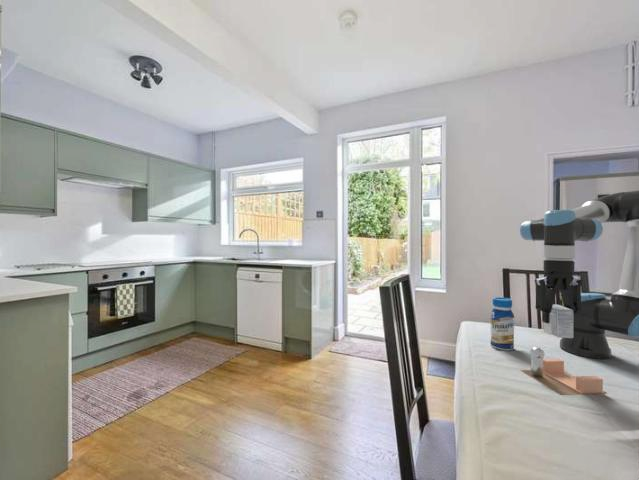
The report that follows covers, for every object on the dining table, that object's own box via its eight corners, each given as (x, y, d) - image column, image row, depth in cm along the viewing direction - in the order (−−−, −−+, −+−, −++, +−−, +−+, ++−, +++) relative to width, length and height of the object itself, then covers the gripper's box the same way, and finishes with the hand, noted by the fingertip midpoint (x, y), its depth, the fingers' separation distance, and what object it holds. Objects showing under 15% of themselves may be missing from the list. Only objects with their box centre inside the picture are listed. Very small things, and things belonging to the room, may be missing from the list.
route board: (559, 372, 96) (559, 369, 96) (607, 397, 81) (607, 393, 81) (519, 373, 96) (519, 370, 96) (560, 398, 81) (560, 394, 81)
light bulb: (537, 373, 94) (537, 345, 94) (547, 378, 90) (547, 349, 90) (527, 373, 93) (527, 345, 93) (536, 378, 90) (536, 349, 90)
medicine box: (573, 339, 87) (574, 310, 87) (556, 337, 88) (557, 309, 88) (558, 330, 94) (558, 304, 94) (542, 329, 95) (543, 303, 95)
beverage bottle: (514, 346, 120) (514, 298, 120) (514, 352, 113) (515, 301, 113) (490, 342, 125) (490, 295, 125) (489, 348, 118) (490, 299, 118)
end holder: (559, 370, 95) (559, 358, 95) (604, 393, 81) (604, 379, 81) (539, 371, 95) (539, 359, 95) (580, 394, 81) (581, 379, 81)
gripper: (576, 258, 95) (575, 329, 95) (521, 258, 94) (520, 329, 95) (598, 260, 88) (597, 337, 88) (539, 260, 87) (538, 337, 87)
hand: (557, 333), depth 91 cm, fingers closed on medicine box, 5 cm apart
